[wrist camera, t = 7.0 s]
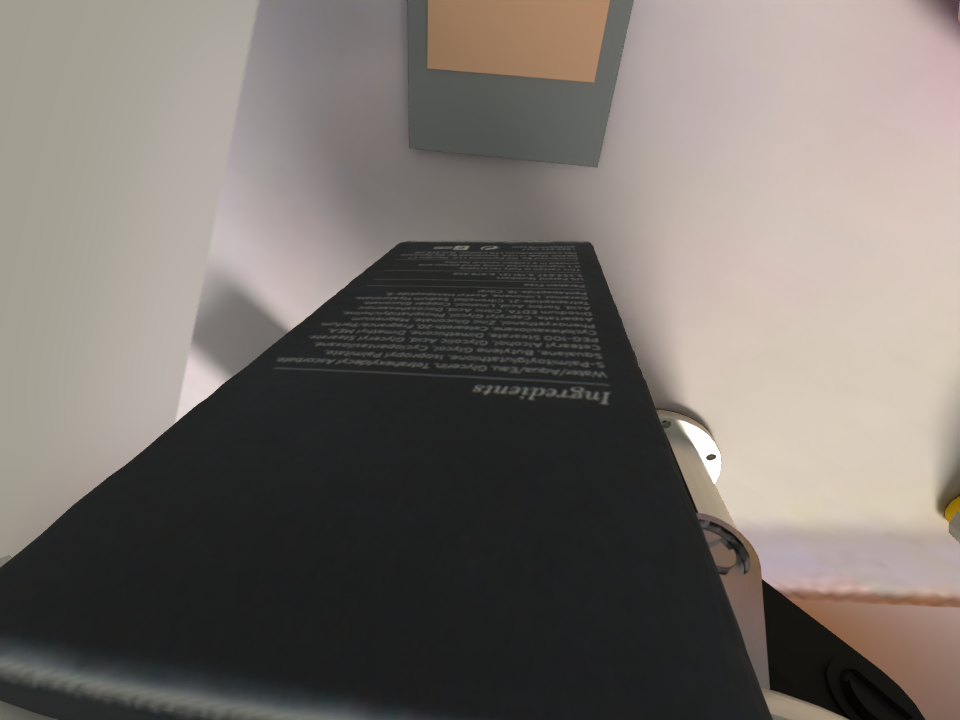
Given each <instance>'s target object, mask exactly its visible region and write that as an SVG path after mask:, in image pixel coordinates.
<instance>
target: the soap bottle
mask: <svg viewBox="0 0 960 720" xmlns="http://www.w3.org/2000/svg"><path fill="white" fill-rule="evenodd" d="M945 518H946V519H947V521H948V522H949V533H950V534H951V535H952V536H953V537H954V538H955V539H956V540H957V541H958V542H959V543H960V496H959V497H957V498H956V499H954V500H953V501H951V503H950V504H949V505H948V507H947V508H946V510H945Z"/></svg>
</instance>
